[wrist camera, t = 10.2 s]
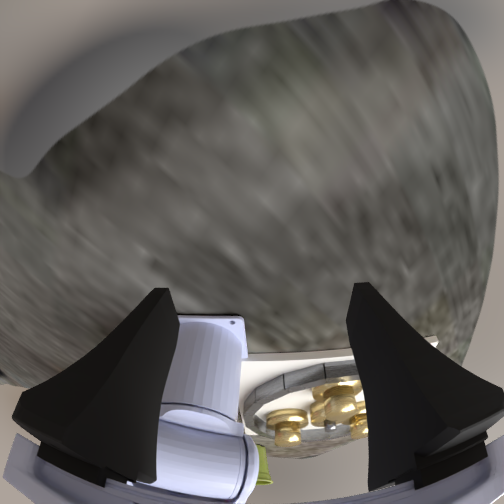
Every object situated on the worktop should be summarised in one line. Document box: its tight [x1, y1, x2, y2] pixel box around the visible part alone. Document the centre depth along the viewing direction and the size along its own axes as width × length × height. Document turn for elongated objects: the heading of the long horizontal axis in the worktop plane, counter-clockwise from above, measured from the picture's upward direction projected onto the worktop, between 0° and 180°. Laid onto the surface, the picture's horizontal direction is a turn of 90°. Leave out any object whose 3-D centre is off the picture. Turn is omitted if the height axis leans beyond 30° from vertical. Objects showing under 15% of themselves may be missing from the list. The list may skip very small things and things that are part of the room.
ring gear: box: [243, 360, 360, 442], centre depth 31 cm, size 22×22×2 cm
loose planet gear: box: [312, 380, 362, 421], centre depth 27 cm, size 6×6×4 cm
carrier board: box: [238, 335, 439, 435], centre depth 33 cm, size 24×24×1 cm
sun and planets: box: [266, 400, 368, 447], centre depth 31 cm, size 17×9×4 cm, turn 93°
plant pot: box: [255, 444, 273, 485], centre depth 43 cm, size 9×9×9 cm
